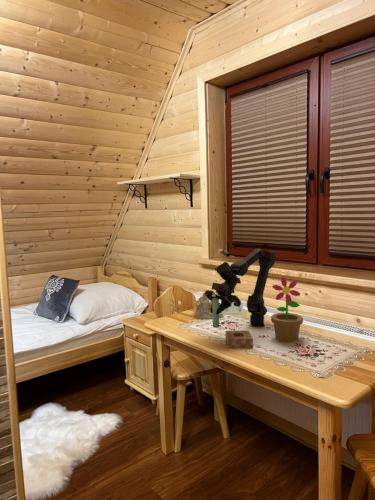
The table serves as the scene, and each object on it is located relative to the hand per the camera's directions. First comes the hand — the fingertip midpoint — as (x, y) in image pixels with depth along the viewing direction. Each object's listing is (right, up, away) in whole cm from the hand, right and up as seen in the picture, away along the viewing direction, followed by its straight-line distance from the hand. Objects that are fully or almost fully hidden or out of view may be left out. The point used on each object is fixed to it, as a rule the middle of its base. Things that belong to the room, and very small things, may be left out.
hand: (213, 313), depth 169 cm
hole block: (+11, -13, -1) cm, 18 cm away
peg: (+1, -6, +2) cm, 7 cm away
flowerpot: (+34, -13, +4) cm, 37 cm away
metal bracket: (+15, -8, +51) cm, 54 cm away
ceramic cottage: (0, -9, +44) cm, 45 cm away
